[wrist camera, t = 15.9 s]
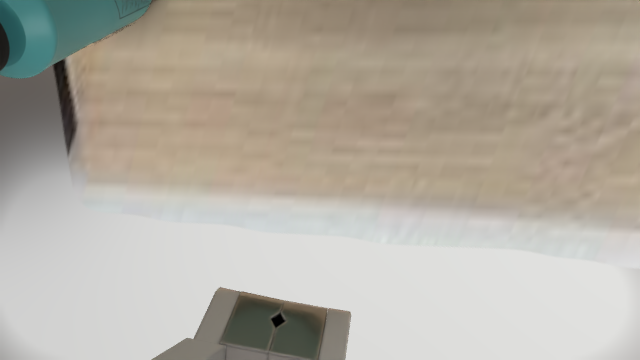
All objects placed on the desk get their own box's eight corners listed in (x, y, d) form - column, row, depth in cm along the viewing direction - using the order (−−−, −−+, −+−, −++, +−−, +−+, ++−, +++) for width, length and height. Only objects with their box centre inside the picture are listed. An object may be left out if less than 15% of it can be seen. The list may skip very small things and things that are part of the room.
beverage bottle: (175, -39, 43) (18, 19, 26) (149, 35, 47) (-6, 131, 29) (97, -82, 43) (-116, -51, 25) (77, -4, 46) (-126, 71, 29)
